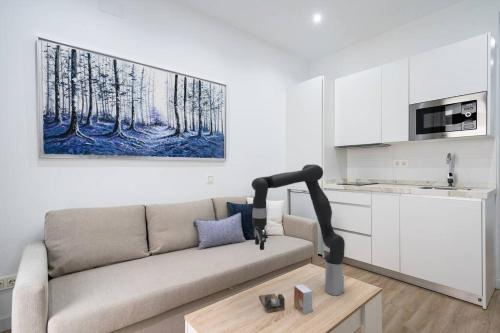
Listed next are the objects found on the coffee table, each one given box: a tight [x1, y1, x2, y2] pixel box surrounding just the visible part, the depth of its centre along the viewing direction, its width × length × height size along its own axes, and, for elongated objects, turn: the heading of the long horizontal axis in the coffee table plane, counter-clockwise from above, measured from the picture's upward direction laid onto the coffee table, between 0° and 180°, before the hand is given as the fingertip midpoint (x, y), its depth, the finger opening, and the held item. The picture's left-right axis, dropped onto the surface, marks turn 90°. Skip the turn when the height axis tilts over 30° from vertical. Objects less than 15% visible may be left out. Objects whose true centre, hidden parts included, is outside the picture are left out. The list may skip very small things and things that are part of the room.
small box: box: [293, 283, 313, 315], centre depth 122 cm, size 8×6×10 cm
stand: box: [258, 293, 286, 314], centre depth 126 cm, size 9×14×6 cm, turn 15°
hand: (259, 247), depth 127 cm, fingers open, 8 cm apart
